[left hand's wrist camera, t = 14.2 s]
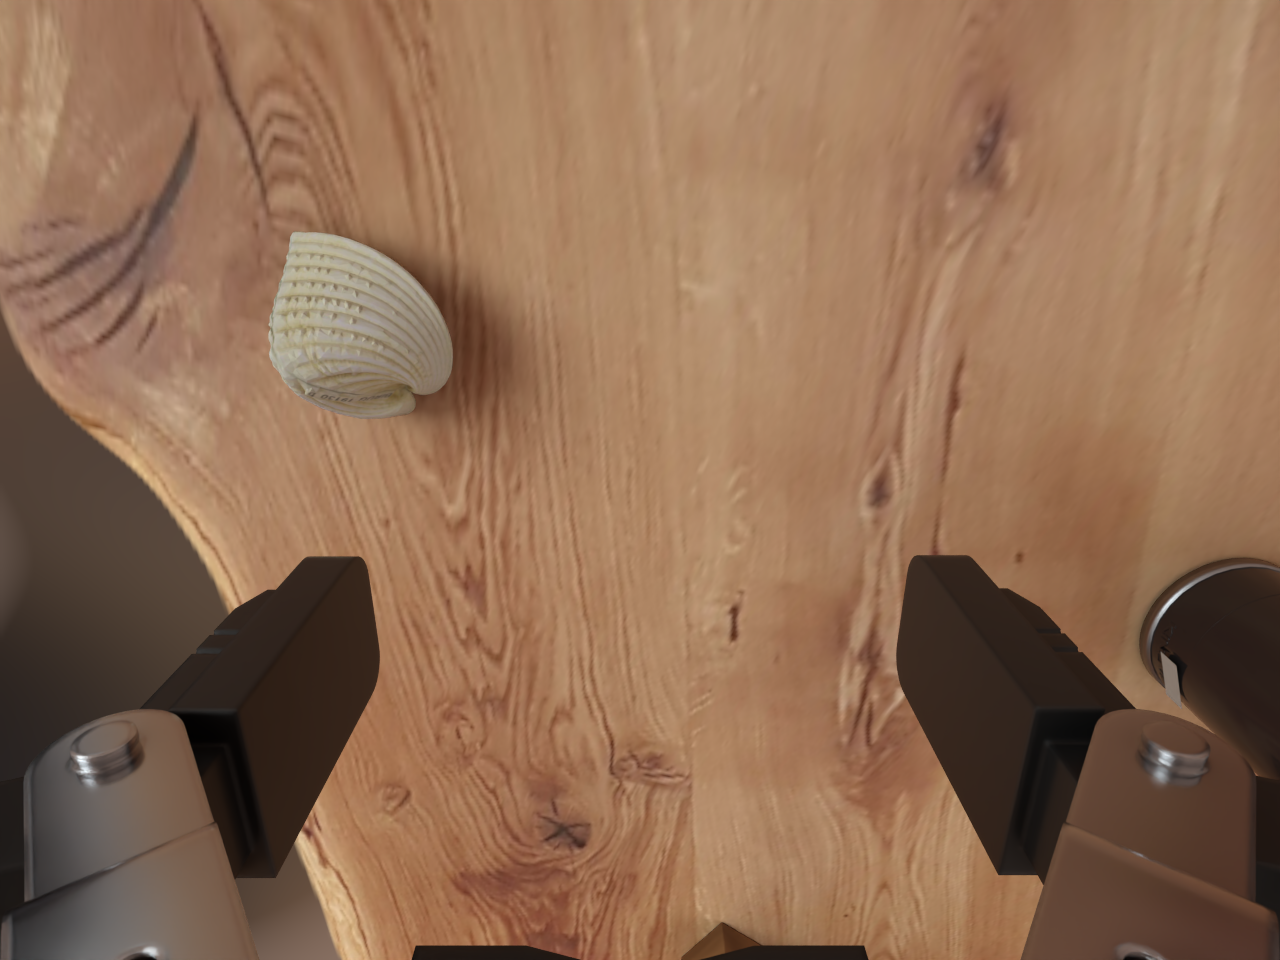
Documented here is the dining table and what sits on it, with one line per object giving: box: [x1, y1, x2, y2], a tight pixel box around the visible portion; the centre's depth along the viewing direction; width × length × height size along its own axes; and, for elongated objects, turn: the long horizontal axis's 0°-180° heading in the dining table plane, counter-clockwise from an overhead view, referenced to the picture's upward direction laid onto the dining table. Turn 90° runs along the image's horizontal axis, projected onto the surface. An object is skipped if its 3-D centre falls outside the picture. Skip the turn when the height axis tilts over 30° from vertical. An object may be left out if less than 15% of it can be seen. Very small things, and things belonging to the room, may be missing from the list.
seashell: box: [269, 232, 453, 419], centre depth 37 cm, size 8×8×8 cm
